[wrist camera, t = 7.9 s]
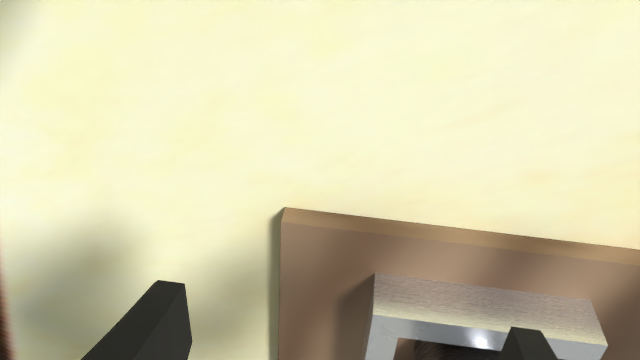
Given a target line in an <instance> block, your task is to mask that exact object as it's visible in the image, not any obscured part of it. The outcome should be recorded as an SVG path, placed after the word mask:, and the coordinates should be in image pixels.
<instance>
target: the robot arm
mask: <svg viewBox="0 0 640 360" xmlns="http://www.w3.org/2000/svg"><path fill="white" fill-rule="evenodd" d="M191 345H192V336H191V329H190V321H189V313H188V306H187V298H186V290H185V284H183V283H176V282H168V281H161V280H158V281H156V282H155V283H154V284H153V285H152V286H151V287H150V288H149V289H148V290H147V291H146V293H145V294H144V295H143V296H142V297H141V298H140V299H139V300H138V301H137V302H136V304H135V305H134V306H133V307H132V308H131V309H130V310H129V311H128V312H127V313H126V314H125V315H124V316H123V318H122V319H121V320H120V321H119V322H118V323H117V324H116V325H115V326H114V327H113V328H112V329H111V330H110V331H109V332H108V333H107V334H106V335H105V336H104V337H103V338H102V339H101V340H100V341H99V342H98V343H97V344H96V345H95V346H94V347H93V348H92V349H91V350H90V351H89V352H88V353H87V354H86V355H85V356H84V357H83V358H82V359H81V360H187V359H188V355H189V352H190V348H191ZM498 360H558V358H557V356H556V355H555V353H554V351H553V350H552V348H551V346H550V345H549V343H548V341H547V340H546V338H545V336H544V335H543V333H542V332H541V331H540V330H534V329H527V328H519V327H512V326H511V328H510V331H509V333H508V335H507V338H506V340H505V343H504V345H503V348H502V350H501V353H500V355H499V357H498Z"/></svg>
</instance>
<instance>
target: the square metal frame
mask: <svg viewBox="0 0 640 360" xmlns="http://www.w3.org/2000/svg"><path fill="white" fill-rule="evenodd" d="M511 326H512V327H519V328H527V329H534V330H540V331H541V332H542V333H543V335H544V336H545V338H546V340H547V341H548V343H549V345H550V346H551V348H552V350H553V351H554V353H555V355H556V356H557V358H558V360H600V359H601V357H602V355H603V354H604V352H605V350H606V348H607V347H608V344H607V341H606V339H605V336H604V334H603V331H602V328H601V326H600V323H599V321H598V318H597V316H596V313H595V311H594V308H593V305H592V303H591V300H586V299H578V298H570V297H562V296H554V295H546V294H538V293H530V292H523V291H515V290H507V289H499V288H491V287H483V286H475V285H467V284H459V283H452V282H444V281H436V280H428V279H420V278H412V277H404V276H396V275H389V274H381V273H375V276H374V282H373V288H372V294H371V300H370V306H369V312H368V318H367V324H366V330H365V336H364V342H363V348H362V354H361V360H393V358H394V353H395V349H396V344H397V340H398V337H400V338H407V339H415V340H422V341H430V342H437V343H445V344H452V345H460V346H467V347H474V348H482V349H489V350H497V351H501V350H502V348H503V345H504V343H505V340H506V338H507V335H508V333H509V331H510V328H511Z"/></svg>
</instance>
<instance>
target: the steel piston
mask: <svg viewBox="0 0 640 360" xmlns="http://www.w3.org/2000/svg"><path fill="white" fill-rule="evenodd" d="M500 353H501V351H497V350H489V349H482V348H474V347H467V346H460V345H452V344H445V343H437V342H430V341H422V340H416V342H415V346H414V357H415V360H498V357H499V355H500Z"/></svg>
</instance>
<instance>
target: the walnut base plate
mask: <svg viewBox="0 0 640 360" xmlns="http://www.w3.org/2000/svg"><path fill="white" fill-rule="evenodd" d="M375 273H381V274H389V275H396V276H404V277H412V278H420V279H428V280H436V281H444V282H452V283H459V284H467V285H475V286H483V287H491V288H499V289H507V290H515V291H523V292H530V293H538V294H546V295H554V296H562V297H570V298H578V299H586V300H591V303H592V305H593V308H594V311H595V313H596V316H597V318H598V321H599V323H600V326H601V328H602V331H603V334H604V336H605V339H606V341H607V344H608V347H607V348H606V350H605V352H604V354H603V355H602V357H601V359H600V360H640V250H635V249H627V248H619V247H610V246H602V245H594V244H585V243H577V242H569V241H560V240H552V239H544V238H535V237H527V236H519V235H510V234H502V233H494V232H486V231H477V230H469V229H461V228H452V227H444V226H436V225H427V224H419V223H411V222H402V221H394V220H386V219H377V218H369V217H361V216H352V215H344V214H336V213H328V212H319V211H311V210H303V209H294V208H286V207H285V209H284V212H283V216H282V219H281V237H280V291H279V345H278V360H361V354H362V348H363V342H364V336H365V330H366V324H367V318H368V312H369V306H370V300H371V294H372V288H373V282H374V276H375ZM415 342H416V340H415V339H407V338H400V337H398V340H397V344H396V349H395V353H394V358H393V360H415V357H414V346H415Z"/></svg>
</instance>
